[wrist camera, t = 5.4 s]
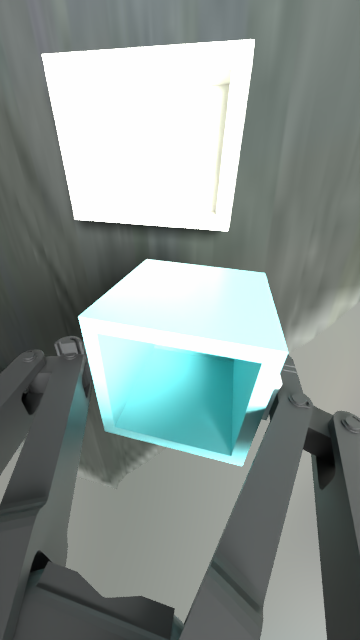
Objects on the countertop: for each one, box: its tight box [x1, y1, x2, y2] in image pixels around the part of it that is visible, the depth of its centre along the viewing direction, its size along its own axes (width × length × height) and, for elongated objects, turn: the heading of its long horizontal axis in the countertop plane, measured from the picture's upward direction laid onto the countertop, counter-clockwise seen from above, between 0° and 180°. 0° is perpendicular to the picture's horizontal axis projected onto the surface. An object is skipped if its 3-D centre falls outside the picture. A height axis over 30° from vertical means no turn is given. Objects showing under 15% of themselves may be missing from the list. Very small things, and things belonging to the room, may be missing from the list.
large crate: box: [42, 39, 255, 231], centre depth 24 cm, size 19×14×4 cm
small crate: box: [78, 259, 288, 466], centre depth 14 cm, size 8×8×8 cm
